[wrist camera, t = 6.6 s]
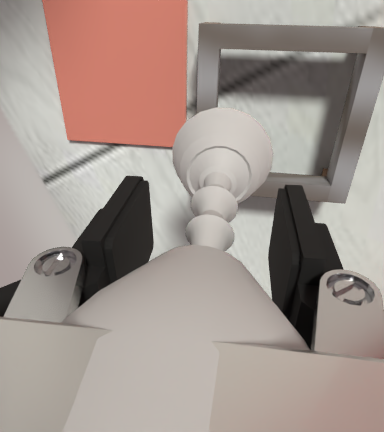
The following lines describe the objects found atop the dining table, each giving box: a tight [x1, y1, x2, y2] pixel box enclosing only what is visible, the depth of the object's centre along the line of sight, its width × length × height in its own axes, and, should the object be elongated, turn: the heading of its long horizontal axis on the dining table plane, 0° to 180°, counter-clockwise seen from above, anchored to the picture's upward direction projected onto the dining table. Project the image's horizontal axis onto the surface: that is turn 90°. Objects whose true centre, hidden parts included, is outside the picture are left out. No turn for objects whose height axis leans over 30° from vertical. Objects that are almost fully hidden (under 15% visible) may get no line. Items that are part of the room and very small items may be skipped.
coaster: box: [42, 0, 188, 147], centre depth 30 cm, size 12×12×1 cm
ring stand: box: [197, 22, 384, 203], centre depth 27 cm, size 13×13×5 cm
